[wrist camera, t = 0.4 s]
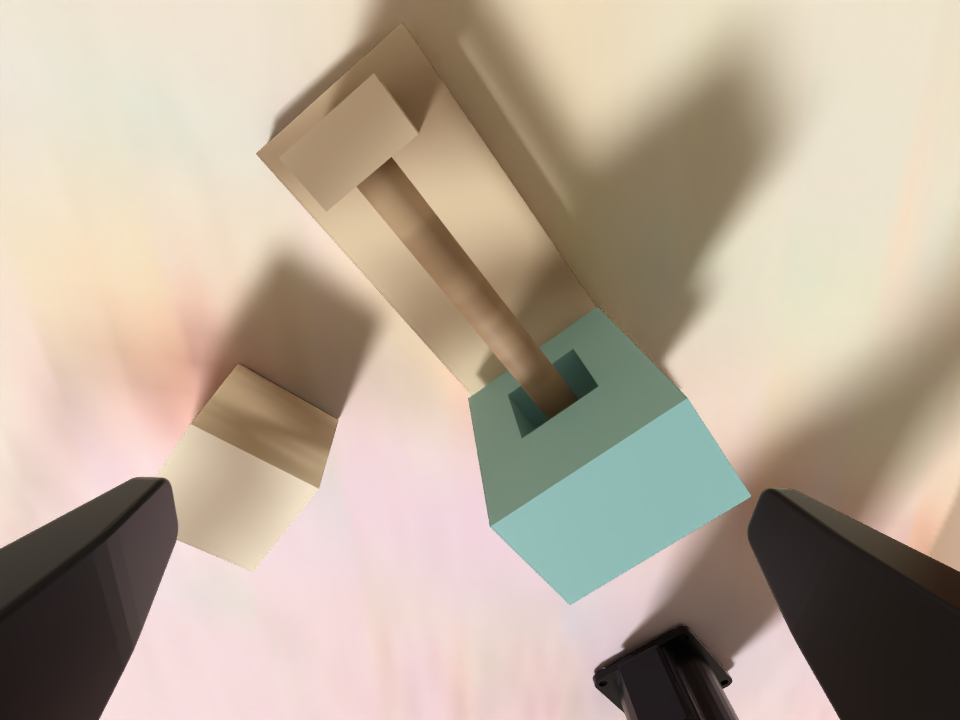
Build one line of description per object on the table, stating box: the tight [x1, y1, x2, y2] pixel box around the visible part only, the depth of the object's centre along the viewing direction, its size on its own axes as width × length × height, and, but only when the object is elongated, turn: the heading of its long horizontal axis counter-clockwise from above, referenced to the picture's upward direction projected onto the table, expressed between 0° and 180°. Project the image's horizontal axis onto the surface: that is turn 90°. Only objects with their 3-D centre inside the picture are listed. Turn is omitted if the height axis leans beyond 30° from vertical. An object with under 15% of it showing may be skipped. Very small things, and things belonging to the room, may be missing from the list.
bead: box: [468, 306, 751, 605], centre depth 17 cm, size 4×6×7 cm, turn 127°
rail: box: [256, 22, 596, 420], centre depth 17 cm, size 18×6×5 cm, turn 37°
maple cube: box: [156, 364, 338, 572], centre depth 19 cm, size 4×4×4 cm
